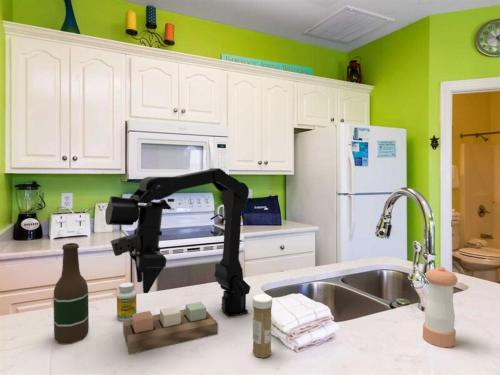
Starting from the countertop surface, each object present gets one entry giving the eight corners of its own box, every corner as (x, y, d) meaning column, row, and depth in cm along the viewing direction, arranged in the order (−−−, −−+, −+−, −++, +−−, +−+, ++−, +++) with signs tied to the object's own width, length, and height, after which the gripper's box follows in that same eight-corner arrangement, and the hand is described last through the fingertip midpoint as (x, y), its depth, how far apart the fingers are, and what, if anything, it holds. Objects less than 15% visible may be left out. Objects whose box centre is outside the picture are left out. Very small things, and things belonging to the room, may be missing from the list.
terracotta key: (149, 322, 86) (149, 310, 86) (153, 329, 82) (153, 317, 82) (132, 325, 84) (132, 314, 84) (134, 333, 80) (134, 321, 80)
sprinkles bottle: (273, 357, 76) (274, 300, 75) (254, 359, 75) (255, 301, 74) (268, 347, 80) (269, 293, 80) (250, 349, 79) (250, 294, 78)
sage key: (200, 312, 92) (200, 301, 92) (206, 318, 89) (206, 307, 88) (185, 315, 90) (185, 304, 90) (190, 321, 86) (190, 310, 86)
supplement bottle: (133, 311, 99) (133, 280, 99) (138, 318, 95) (138, 285, 94) (115, 315, 96) (114, 283, 96) (119, 322, 92) (118, 289, 91)
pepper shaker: (443, 350, 80) (447, 273, 79) (416, 337, 86) (419, 265, 85) (461, 343, 83) (464, 269, 82) (433, 331, 89) (436, 262, 88)
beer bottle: (95, 332, 86) (94, 242, 85) (70, 347, 79) (69, 248, 78) (72, 327, 89) (71, 239, 88) (46, 341, 81) (44, 245, 80)
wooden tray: (202, 316, 97) (202, 306, 97) (217, 334, 86) (217, 322, 86) (123, 331, 87) (123, 320, 86) (129, 354, 76) (129, 342, 76)
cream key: (176, 316, 89) (176, 306, 89) (180, 323, 85) (180, 312, 85) (159, 320, 87) (159, 309, 87) (163, 327, 83) (163, 315, 83)
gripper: (111, 219, 88) (105, 278, 87) (119, 229, 71) (111, 301, 71) (154, 222, 93) (148, 277, 93) (170, 231, 76) (162, 298, 76)
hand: (142, 287), depth 83 cm, fingers open, 9 cm apart
